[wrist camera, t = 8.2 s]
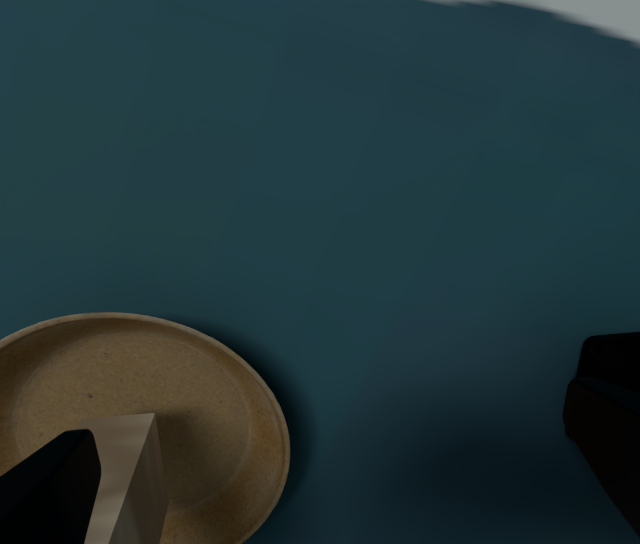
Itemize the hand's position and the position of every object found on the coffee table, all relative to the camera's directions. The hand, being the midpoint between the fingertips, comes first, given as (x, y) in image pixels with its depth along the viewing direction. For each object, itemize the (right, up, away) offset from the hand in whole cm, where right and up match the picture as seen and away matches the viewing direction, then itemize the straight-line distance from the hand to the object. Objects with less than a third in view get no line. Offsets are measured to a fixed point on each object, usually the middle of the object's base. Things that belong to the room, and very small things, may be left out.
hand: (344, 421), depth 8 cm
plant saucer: (-10, -5, +14) cm, 17 cm away
